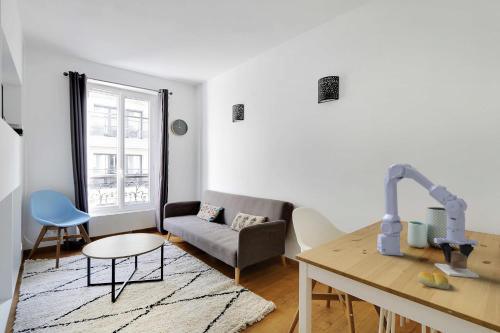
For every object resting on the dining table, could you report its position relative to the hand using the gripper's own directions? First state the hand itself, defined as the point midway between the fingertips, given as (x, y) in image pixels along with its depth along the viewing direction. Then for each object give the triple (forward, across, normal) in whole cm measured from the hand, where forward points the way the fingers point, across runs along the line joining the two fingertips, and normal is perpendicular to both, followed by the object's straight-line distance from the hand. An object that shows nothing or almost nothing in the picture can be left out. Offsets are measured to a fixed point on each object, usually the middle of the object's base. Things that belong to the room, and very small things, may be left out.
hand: (455, 262), depth 98 cm
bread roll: (+4, -14, -13) cm, 20 cm away
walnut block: (+2, 0, 0) cm, 2 cm away
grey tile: (+4, 0, 0) cm, 4 cm away
